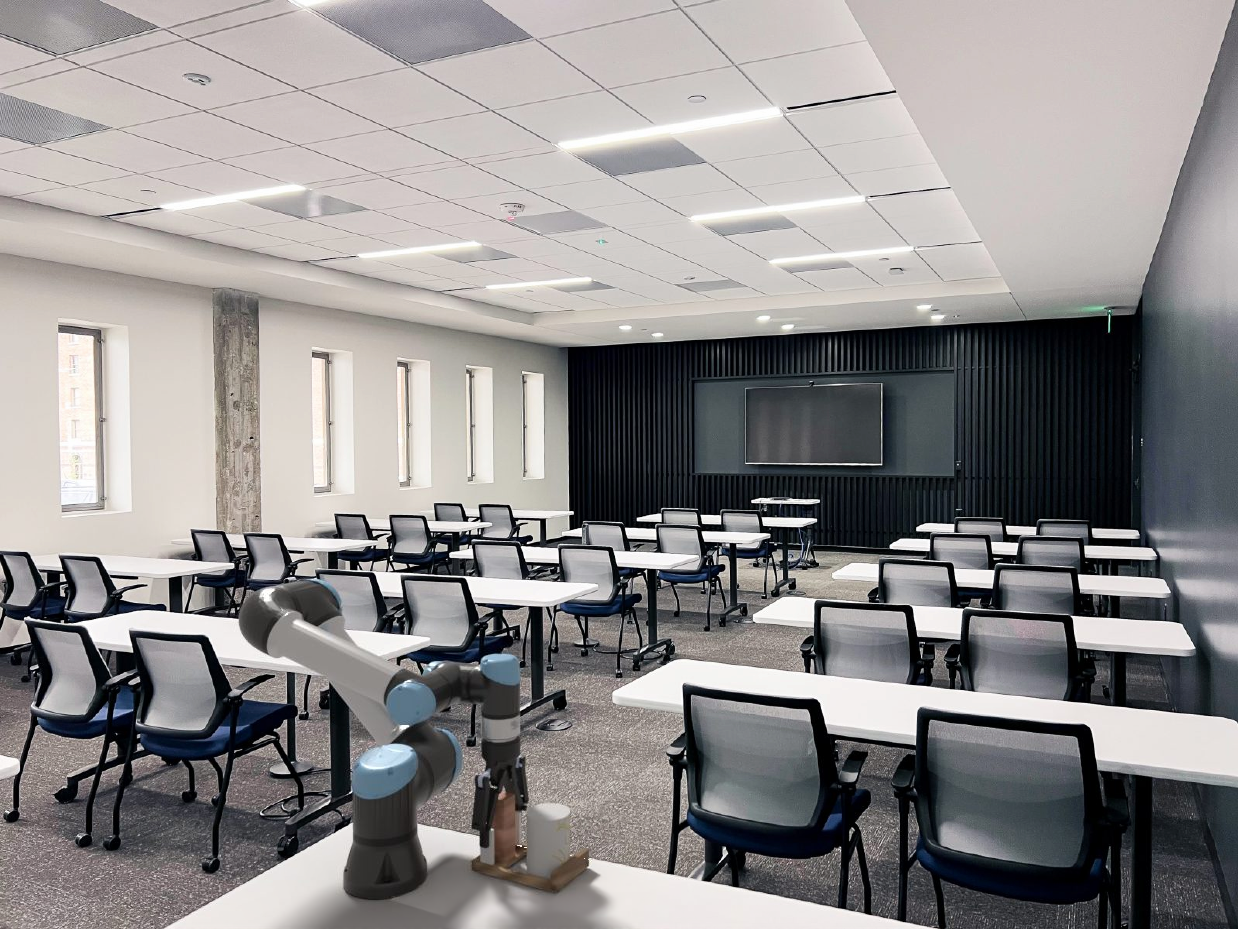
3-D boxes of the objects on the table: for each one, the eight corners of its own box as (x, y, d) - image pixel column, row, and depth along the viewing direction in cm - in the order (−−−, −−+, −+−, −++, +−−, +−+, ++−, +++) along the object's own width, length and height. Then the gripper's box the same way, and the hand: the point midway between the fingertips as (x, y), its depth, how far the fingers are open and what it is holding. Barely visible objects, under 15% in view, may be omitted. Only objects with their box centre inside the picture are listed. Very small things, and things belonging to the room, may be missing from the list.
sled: (471, 870, 169) (471, 804, 169) (507, 845, 180) (507, 783, 179) (556, 893, 160) (556, 823, 160) (588, 865, 171) (588, 800, 171)
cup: (564, 887, 163) (564, 822, 163) (521, 884, 165) (521, 819, 164) (574, 867, 171) (574, 804, 171) (533, 863, 173) (533, 802, 172)
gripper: (483, 756, 162) (484, 881, 162) (546, 724, 180) (547, 836, 181) (450, 749, 165) (451, 872, 165) (515, 719, 184) (516, 828, 184)
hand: (501, 853), depth 173 cm, fingers closed on sled, 8 cm apart
